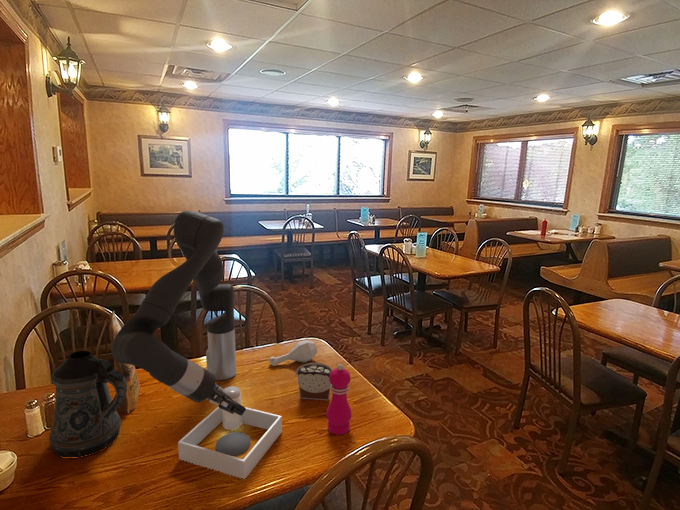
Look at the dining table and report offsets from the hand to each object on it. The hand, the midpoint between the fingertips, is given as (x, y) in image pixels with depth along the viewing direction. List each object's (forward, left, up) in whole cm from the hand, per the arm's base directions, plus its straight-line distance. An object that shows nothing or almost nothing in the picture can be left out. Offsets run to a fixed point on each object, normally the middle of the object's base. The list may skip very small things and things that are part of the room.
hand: (238, 406), depth 109 cm
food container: (+10, +30, -11) cm, 33 cm away
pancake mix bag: (-44, +5, -11) cm, 46 cm away
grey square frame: (-1, -1, -11) cm, 11 cm away
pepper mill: (+23, +16, -11) cm, 30 cm away
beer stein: (-38, -12, -11) cm, 41 cm away
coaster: (-1, -1, -11) cm, 11 cm away
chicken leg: (-7, +47, -11) cm, 48 cm away
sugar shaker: (-1, -2, -4) cm, 5 cm away
